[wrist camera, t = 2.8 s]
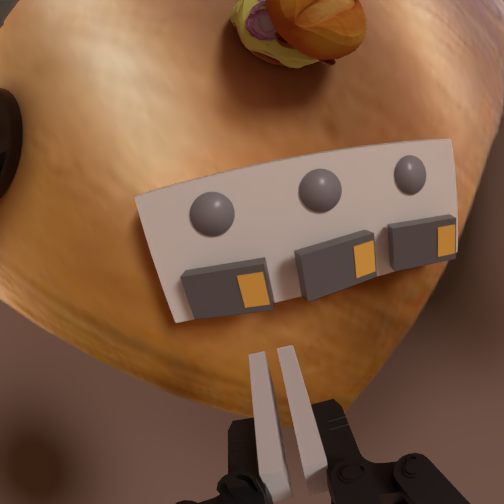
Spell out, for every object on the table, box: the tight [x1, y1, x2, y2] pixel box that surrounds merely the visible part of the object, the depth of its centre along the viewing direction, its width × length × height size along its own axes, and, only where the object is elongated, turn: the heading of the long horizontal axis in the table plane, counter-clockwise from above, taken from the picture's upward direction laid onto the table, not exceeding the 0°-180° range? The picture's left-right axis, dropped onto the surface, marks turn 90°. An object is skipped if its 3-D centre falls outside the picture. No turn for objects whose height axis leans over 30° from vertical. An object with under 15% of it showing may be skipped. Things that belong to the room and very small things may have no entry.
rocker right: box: [387, 214, 456, 271], centre depth 23 cm, size 7×4×2 cm, turn 102°
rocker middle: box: [294, 230, 377, 302], centre depth 24 cm, size 7×4×2 cm, turn 102°
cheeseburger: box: [230, 0, 366, 68], centre depth 19 cm, size 10×11×10 cm
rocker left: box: [180, 257, 275, 319], centre depth 24 cm, size 7×4×2 cm, turn 102°
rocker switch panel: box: [134, 139, 458, 323], centre depth 26 cm, size 30×12×4 cm, turn 102°
